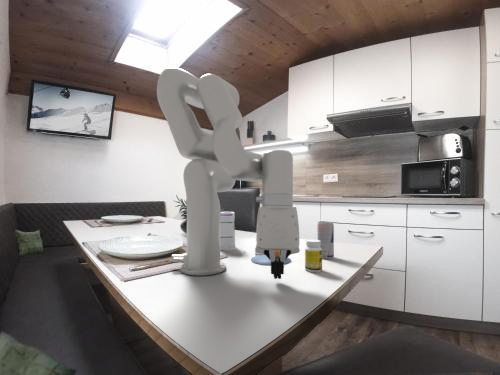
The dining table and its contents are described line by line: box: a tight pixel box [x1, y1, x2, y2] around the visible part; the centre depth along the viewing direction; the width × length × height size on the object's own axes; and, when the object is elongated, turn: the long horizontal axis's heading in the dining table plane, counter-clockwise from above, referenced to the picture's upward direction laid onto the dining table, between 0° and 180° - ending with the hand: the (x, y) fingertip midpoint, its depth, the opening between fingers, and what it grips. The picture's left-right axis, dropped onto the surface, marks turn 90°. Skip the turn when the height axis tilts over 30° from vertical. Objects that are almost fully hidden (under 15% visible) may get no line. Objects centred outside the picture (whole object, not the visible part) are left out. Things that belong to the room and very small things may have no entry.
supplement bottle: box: [304, 239, 323, 273], centre depth 74 cm, size 5×5×8 cm
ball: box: [274, 250, 280, 258], centre depth 88 cm, size 6×6×6 cm
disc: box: [250, 255, 292, 266], centre depth 85 cm, size 13×13×1 cm
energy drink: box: [317, 220, 335, 260], centre depth 89 cm, size 5×5×12 cm
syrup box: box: [220, 211, 236, 251], centre depth 102 cm, size 6×6×14 cm
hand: (277, 276), depth 63 cm, fingers closed
